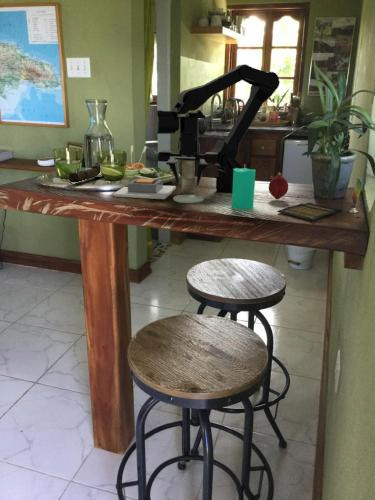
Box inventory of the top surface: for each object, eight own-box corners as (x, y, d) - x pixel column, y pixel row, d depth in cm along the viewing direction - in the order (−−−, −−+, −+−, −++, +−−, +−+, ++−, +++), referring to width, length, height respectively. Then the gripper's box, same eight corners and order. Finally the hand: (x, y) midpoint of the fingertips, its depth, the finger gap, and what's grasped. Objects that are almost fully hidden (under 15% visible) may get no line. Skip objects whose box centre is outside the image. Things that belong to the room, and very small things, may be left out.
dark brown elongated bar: (78, 184, 149) (76, 170, 147) (69, 184, 151) (66, 171, 149) (111, 175, 165) (109, 163, 164) (102, 176, 167) (100, 163, 165)
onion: (290, 201, 133) (292, 174, 130) (271, 201, 132) (273, 174, 130) (283, 197, 139) (285, 171, 136) (265, 197, 138) (267, 171, 135)
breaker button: (155, 183, 143) (155, 179, 143) (151, 186, 138) (151, 182, 138) (140, 182, 144) (140, 178, 143) (135, 185, 139) (135, 181, 139)
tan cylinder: (195, 191, 144) (195, 160, 141) (193, 194, 141) (193, 162, 137) (183, 190, 145) (183, 159, 142) (180, 193, 141) (180, 161, 138)
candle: (256, 208, 124) (259, 165, 120) (236, 210, 122) (238, 165, 118) (247, 203, 129) (250, 161, 125) (228, 204, 128) (230, 162, 124)
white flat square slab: (175, 188, 148) (175, 178, 147) (164, 199, 133) (164, 187, 132) (129, 186, 151) (128, 176, 150) (113, 196, 136) (112, 185, 135)
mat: (205, 197, 137) (205, 195, 136) (201, 204, 128) (201, 202, 128) (176, 195, 138) (176, 193, 138) (170, 202, 130) (170, 200, 129)
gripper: (222, 132, 143) (220, 181, 148) (164, 130, 146) (165, 178, 151) (218, 135, 132) (216, 188, 137) (156, 133, 135) (157, 185, 141)
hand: (188, 184), depth 142 cm, fingers closed on tan cylinder, 6 cm apart
